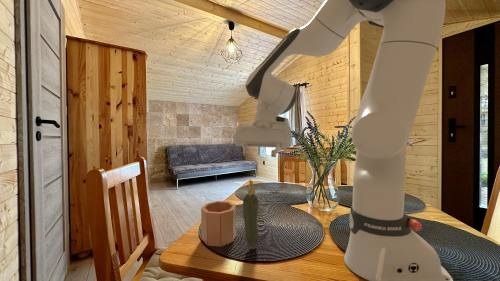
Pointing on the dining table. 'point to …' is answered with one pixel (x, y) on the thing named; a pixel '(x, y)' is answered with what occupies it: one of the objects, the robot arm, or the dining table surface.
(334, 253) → the dining table surface
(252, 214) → the vegetable
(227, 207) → the crock
